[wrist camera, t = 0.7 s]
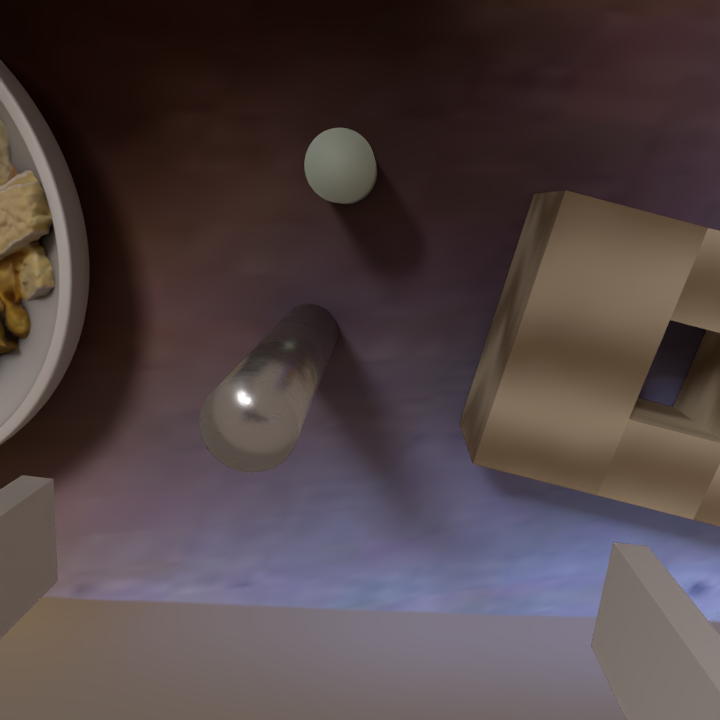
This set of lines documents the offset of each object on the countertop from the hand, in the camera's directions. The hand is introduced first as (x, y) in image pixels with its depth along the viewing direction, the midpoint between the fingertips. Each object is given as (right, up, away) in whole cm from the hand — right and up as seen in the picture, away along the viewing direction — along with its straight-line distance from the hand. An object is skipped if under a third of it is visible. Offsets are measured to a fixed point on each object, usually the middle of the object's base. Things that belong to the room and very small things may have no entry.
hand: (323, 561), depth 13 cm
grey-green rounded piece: (0, +16, +20) cm, 25 cm away
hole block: (+19, +5, +22) cm, 29 cm away
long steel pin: (-2, +6, +22) cm, 23 cm away
